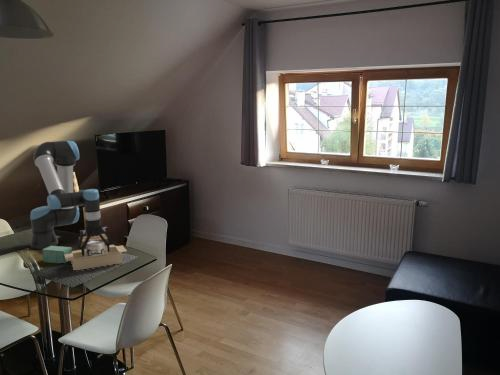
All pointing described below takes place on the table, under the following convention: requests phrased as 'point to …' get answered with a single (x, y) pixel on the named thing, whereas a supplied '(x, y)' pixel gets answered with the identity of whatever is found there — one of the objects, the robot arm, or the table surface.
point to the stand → (95, 239)
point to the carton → (96, 258)
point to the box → (56, 254)
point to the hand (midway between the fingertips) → (96, 259)
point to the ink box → (95, 248)
